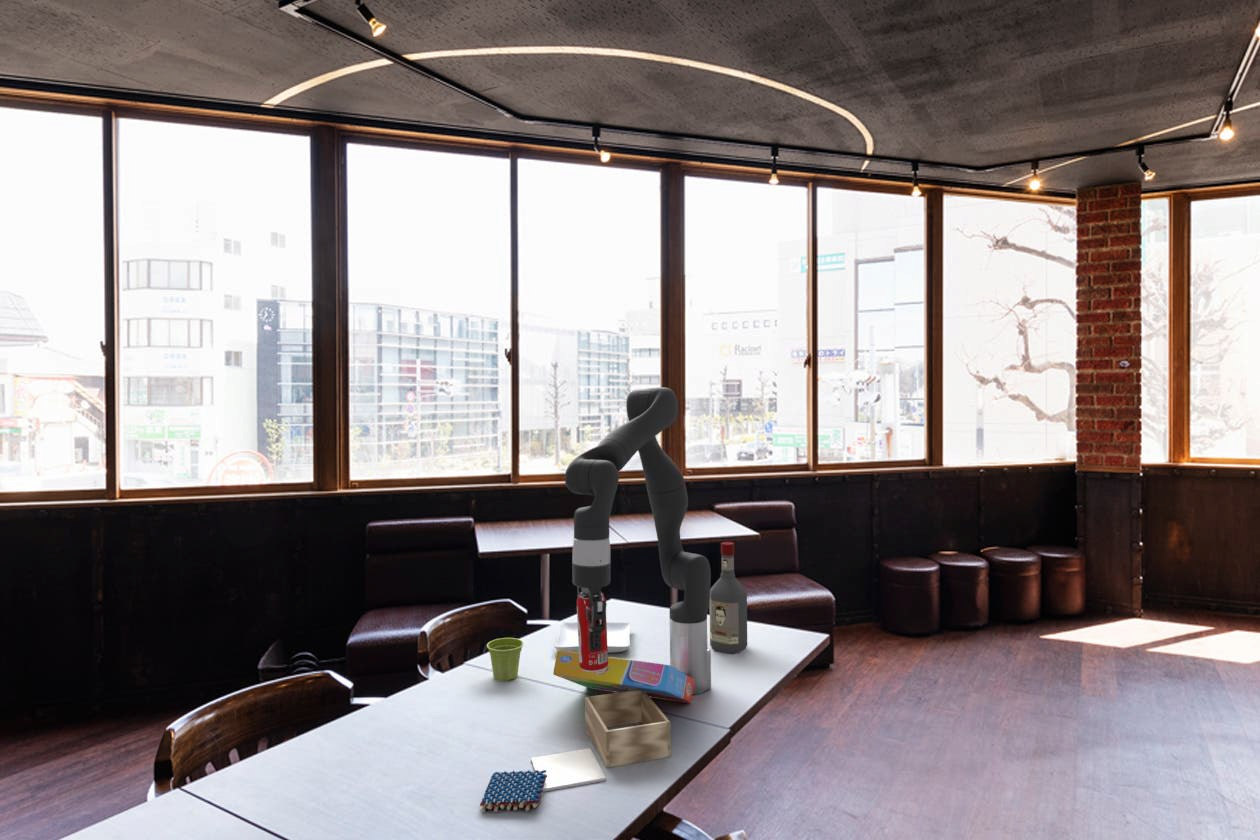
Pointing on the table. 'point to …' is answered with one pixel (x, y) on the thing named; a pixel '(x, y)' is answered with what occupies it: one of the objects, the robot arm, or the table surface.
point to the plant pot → (505, 657)
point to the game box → (628, 677)
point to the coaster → (569, 769)
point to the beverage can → (588, 658)
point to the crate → (627, 728)
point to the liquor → (728, 608)
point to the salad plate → (615, 637)
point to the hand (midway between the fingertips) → (591, 645)
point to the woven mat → (514, 790)
